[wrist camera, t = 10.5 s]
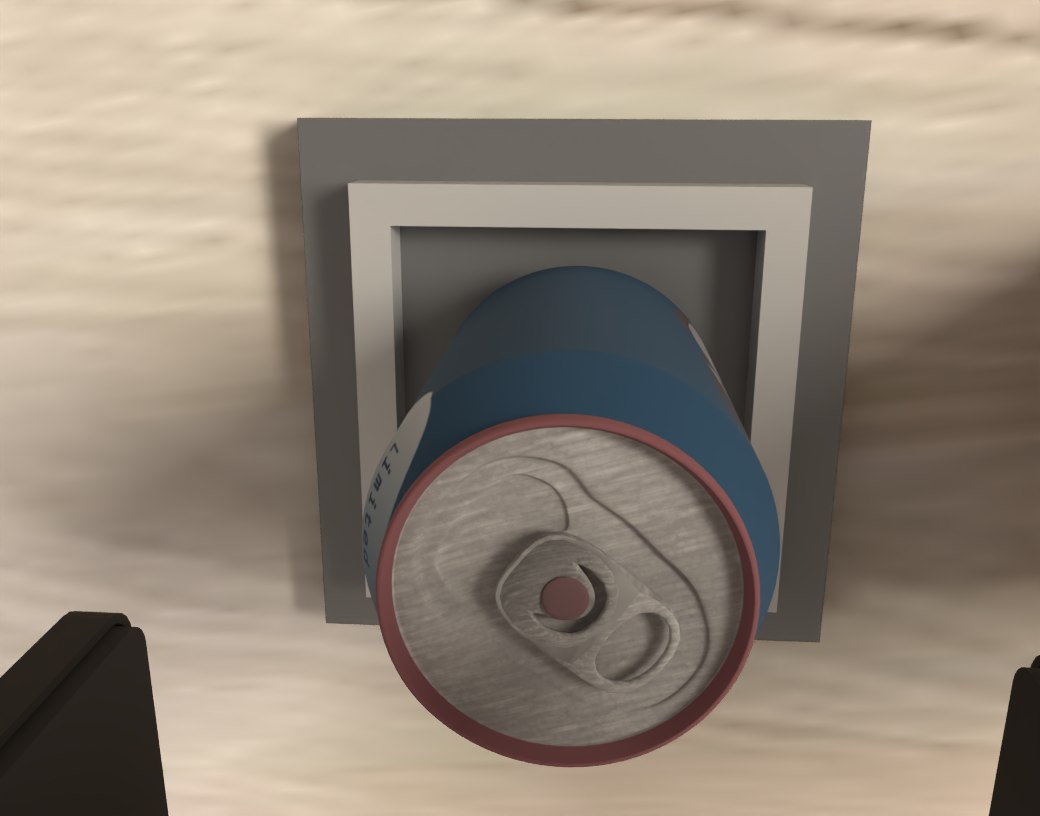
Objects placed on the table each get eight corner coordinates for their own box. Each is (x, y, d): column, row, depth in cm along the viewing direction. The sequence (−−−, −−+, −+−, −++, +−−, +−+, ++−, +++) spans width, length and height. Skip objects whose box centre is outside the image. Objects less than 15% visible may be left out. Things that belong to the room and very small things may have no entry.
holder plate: (310, 117, 26) (282, 118, 24) (859, 120, 25) (885, 121, 23) (336, 603, 30) (314, 644, 28) (810, 621, 29) (828, 664, 27)
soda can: (394, 406, 27) (245, 626, 15) (557, 201, 25) (528, 275, 13) (593, 559, 28) (595, 877, 16) (765, 372, 26) (905, 580, 14)
